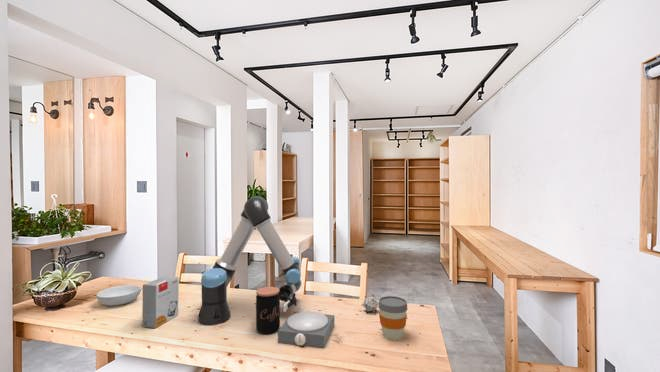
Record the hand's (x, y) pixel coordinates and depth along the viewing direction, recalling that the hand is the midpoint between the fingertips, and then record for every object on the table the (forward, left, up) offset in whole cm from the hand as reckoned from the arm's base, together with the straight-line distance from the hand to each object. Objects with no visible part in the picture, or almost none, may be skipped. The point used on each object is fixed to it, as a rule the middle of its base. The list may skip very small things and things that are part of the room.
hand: (270, 307), depth 142 cm
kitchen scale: (+18, -1, -10) cm, 21 cm away
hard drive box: (-56, -4, -10) cm, 57 cm away
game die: (+43, +29, -10) cm, 53 cm away
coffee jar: (-1, -1, -10) cm, 10 cm away
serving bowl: (-97, +11, -10) cm, 98 cm away
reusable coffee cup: (+55, +6, -10) cm, 57 cm away
